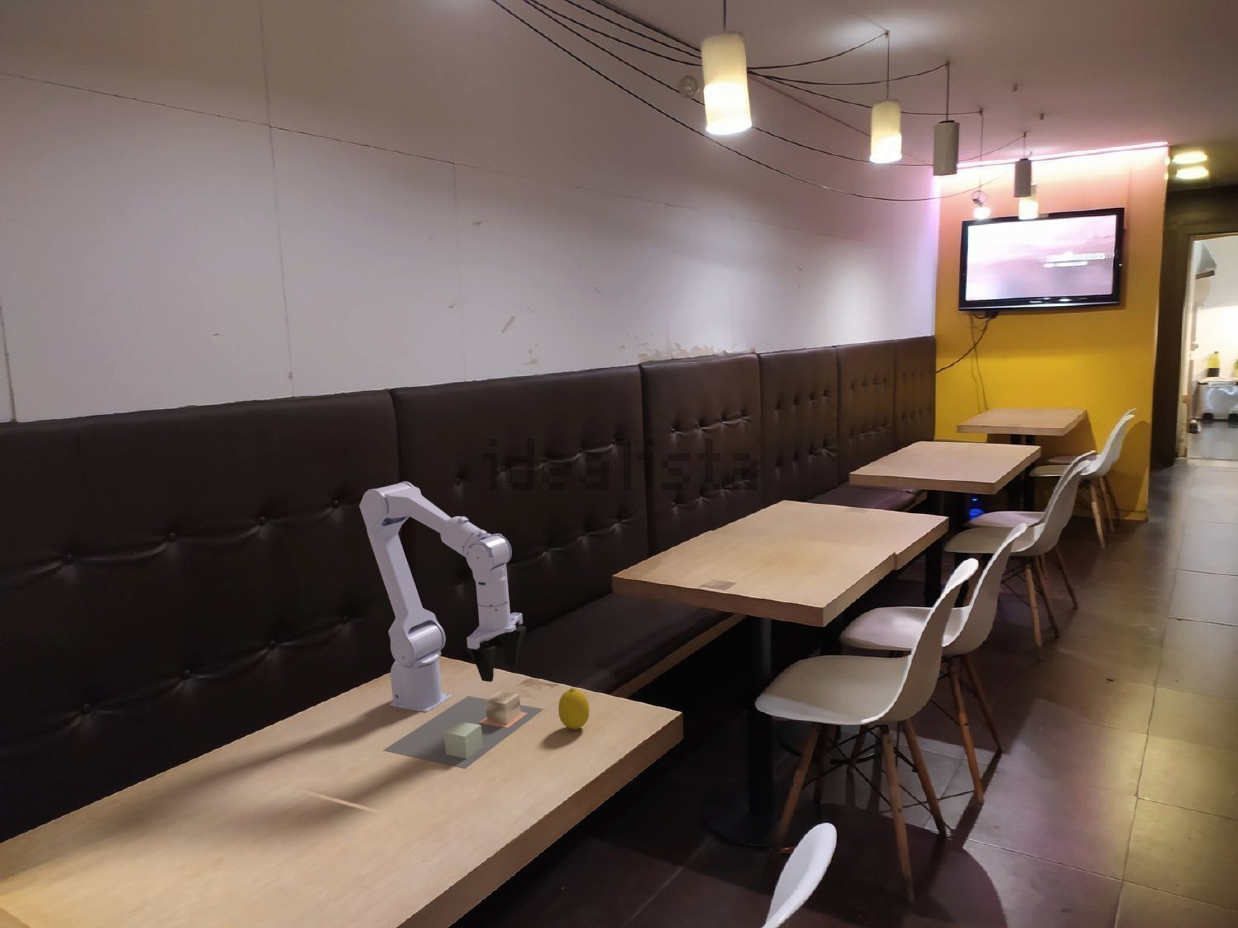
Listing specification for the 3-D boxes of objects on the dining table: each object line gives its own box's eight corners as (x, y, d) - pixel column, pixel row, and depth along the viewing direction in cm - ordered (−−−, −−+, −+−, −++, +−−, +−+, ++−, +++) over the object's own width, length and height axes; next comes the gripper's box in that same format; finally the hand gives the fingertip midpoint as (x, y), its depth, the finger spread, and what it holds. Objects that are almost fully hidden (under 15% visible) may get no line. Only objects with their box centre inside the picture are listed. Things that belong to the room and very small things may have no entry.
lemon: (555, 728, 151) (552, 686, 150) (583, 720, 154) (580, 679, 153) (566, 740, 146) (563, 697, 145) (595, 732, 149) (592, 689, 148)
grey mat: (383, 752, 146) (383, 749, 146) (468, 697, 167) (467, 695, 167) (465, 770, 138) (465, 767, 138) (543, 710, 159) (543, 708, 159)
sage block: (446, 754, 143) (443, 732, 143) (462, 742, 147) (460, 721, 147) (467, 758, 141) (464, 736, 141) (483, 746, 145) (481, 725, 145)
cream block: (487, 720, 155) (485, 700, 155) (501, 710, 159) (499, 690, 158) (507, 724, 153) (505, 703, 152) (520, 714, 157) (519, 694, 156)
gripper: (487, 616, 145) (494, 690, 147) (533, 592, 157) (539, 661, 159) (455, 612, 148) (462, 685, 150) (502, 589, 161) (508, 656, 163)
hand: (499, 672), depth 155 cm, fingers open, 7 cm apart
